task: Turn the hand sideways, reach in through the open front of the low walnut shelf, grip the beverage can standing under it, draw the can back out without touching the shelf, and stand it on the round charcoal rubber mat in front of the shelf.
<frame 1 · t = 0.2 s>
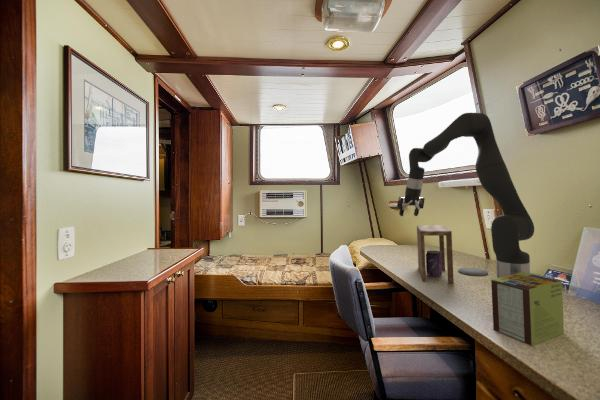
hand: (408, 215, 148), 30 cm above the table, tool tilted 20°, fingers open, 8 cm apart
walnut shelf: (434, 275, 140), on the table
protein box: (527, 332, 81), on the table
beverage can: (434, 275, 140), on the table
charcoal mat: (472, 272, 141), on the table
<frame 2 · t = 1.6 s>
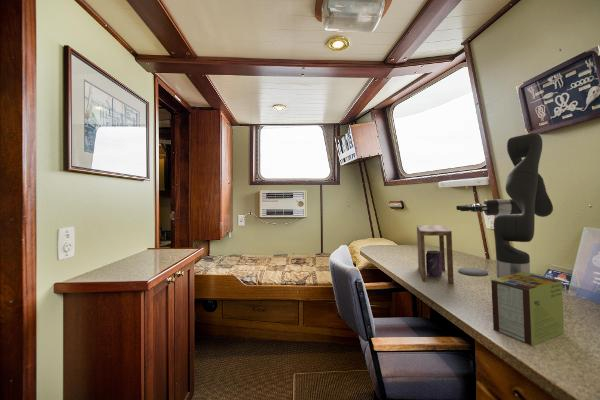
hand: (458, 208, 135), 34 cm above the table, tool horizontal, fingers open, 8 cm apart
nothing on the table moved.
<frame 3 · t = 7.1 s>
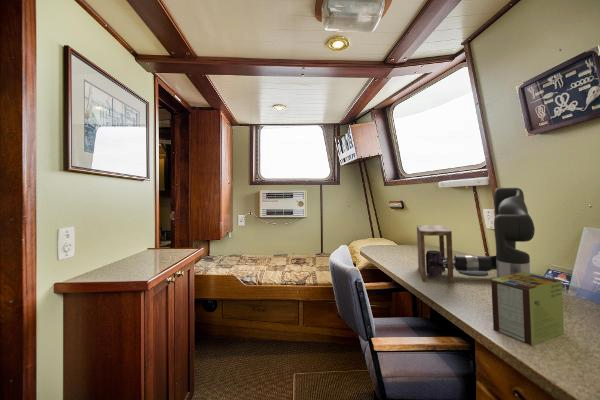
hand: (428, 262, 140), 7 cm above the table, tool horizontal, fingers closed on beverage can, 6 cm apart
beverage can: (434, 275, 140), on the table, touching gripper
everything else where it was.
when the fingers open (8 cm above the table, at t = 15.7 s): beverage can drops 1 cm, resting on charcoal mat.
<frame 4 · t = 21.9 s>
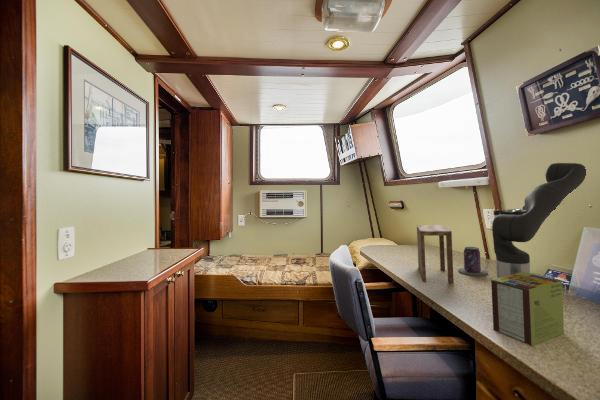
hand: (496, 213, 137), 30 cm above the table, tool horizontal, fingers open, 8 cm apart
beverage can: (472, 271, 141), resting on charcoal mat
everything else where it was.
at the end: beverage can inside the target area on the charcoal mat (0.0 cm from its centre), point 0.4 cm above the charcoal mat's base; beverage can tilted 0°; the gripper is holding nothing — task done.
